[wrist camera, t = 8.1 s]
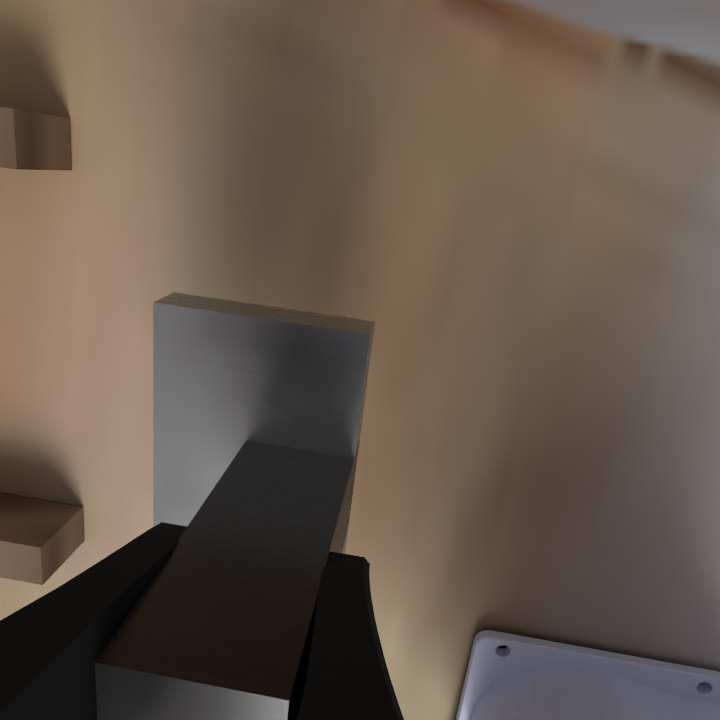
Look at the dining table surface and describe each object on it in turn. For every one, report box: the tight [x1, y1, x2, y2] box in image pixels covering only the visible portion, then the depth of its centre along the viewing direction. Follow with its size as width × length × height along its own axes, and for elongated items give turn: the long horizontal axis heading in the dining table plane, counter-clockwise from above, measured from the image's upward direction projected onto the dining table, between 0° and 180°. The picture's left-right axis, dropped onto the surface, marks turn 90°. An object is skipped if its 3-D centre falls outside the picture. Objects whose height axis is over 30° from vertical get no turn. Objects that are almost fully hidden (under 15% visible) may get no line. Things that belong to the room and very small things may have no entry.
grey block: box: [95, 293, 375, 720], centre depth 11 cm, size 4×8×7 cm, turn 173°
